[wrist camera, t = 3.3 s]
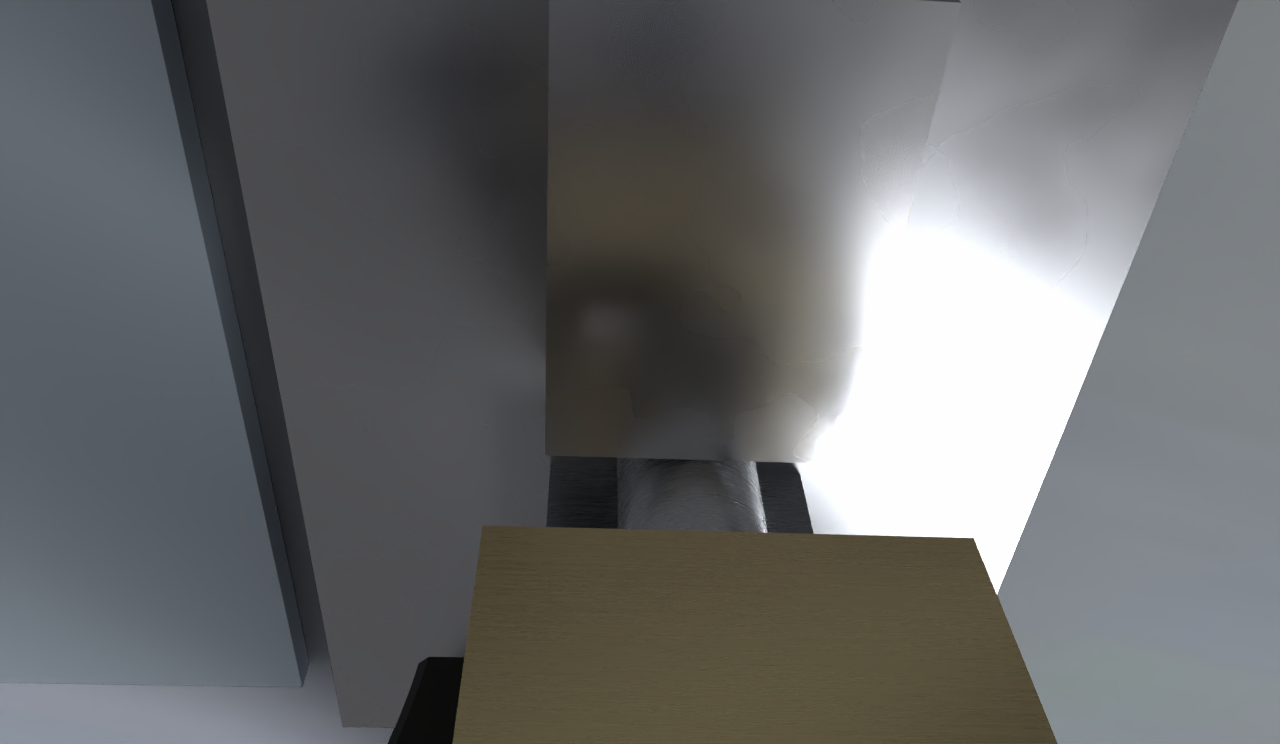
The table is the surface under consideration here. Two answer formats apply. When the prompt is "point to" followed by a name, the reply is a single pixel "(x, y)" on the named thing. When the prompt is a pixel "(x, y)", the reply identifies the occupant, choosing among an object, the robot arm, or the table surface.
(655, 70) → the vise
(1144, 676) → the table surface
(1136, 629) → the table surface
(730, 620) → the collar
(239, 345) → the mat
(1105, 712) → the table surface
